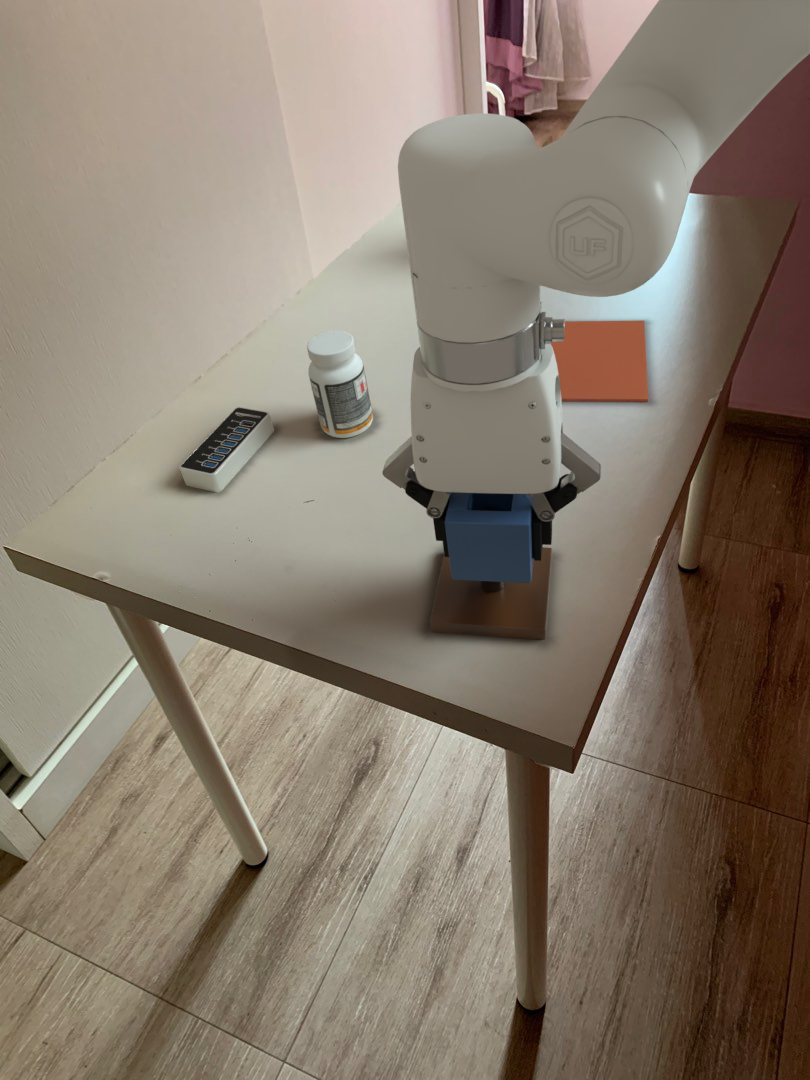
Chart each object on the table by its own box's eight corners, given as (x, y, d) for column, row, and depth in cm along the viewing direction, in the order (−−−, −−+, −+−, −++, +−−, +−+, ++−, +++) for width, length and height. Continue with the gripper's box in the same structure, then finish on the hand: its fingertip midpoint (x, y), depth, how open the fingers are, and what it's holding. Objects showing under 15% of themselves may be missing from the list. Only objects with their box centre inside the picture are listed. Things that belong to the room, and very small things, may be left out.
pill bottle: (381, 411, 87) (367, 329, 80) (362, 443, 83) (346, 359, 77) (333, 406, 89) (316, 325, 82) (312, 437, 85) (292, 355, 78)
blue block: (536, 528, 65) (535, 470, 60) (531, 583, 60) (529, 524, 56) (462, 526, 66) (456, 469, 62) (451, 580, 62) (444, 522, 58)
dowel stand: (551, 557, 69) (552, 478, 63) (545, 640, 62) (546, 561, 56) (447, 552, 70) (438, 475, 65) (430, 632, 64) (419, 554, 58)
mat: (644, 323, 94) (644, 320, 94) (648, 402, 83) (648, 399, 83) (506, 325, 97) (506, 322, 97) (492, 401, 86) (492, 398, 86)
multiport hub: (183, 485, 82) (176, 467, 80) (241, 423, 89) (236, 405, 87) (219, 493, 80) (213, 475, 79) (276, 429, 87) (271, 411, 85)
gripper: (622, 305, 51) (609, 517, 63) (359, 312, 55) (395, 511, 67) (623, 370, 46) (609, 587, 58) (332, 373, 50) (376, 576, 62)
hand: (494, 544), depth 62 cm, fingers closed on blue block, 6 cm apart
